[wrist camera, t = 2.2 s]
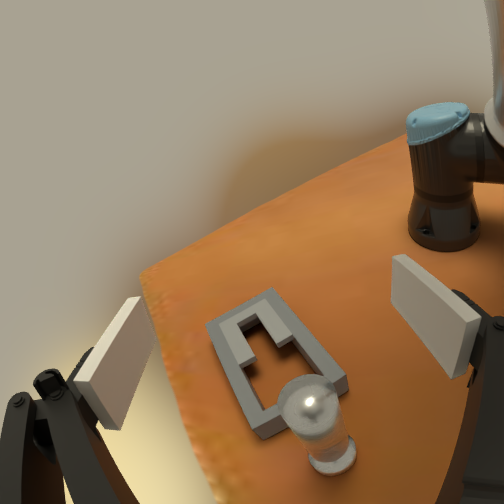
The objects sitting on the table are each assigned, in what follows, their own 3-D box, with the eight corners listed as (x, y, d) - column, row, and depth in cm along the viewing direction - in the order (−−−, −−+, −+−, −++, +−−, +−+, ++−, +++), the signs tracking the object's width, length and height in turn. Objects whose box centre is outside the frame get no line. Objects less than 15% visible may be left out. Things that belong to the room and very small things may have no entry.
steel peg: (359, 436, 27) (348, 367, 19) (352, 477, 23) (338, 435, 15) (316, 435, 29) (279, 367, 21) (307, 473, 26) (261, 428, 17)
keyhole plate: (349, 389, 33) (346, 374, 31) (263, 440, 31) (252, 429, 29) (279, 304, 49) (272, 287, 47) (215, 339, 48) (204, 324, 46)
